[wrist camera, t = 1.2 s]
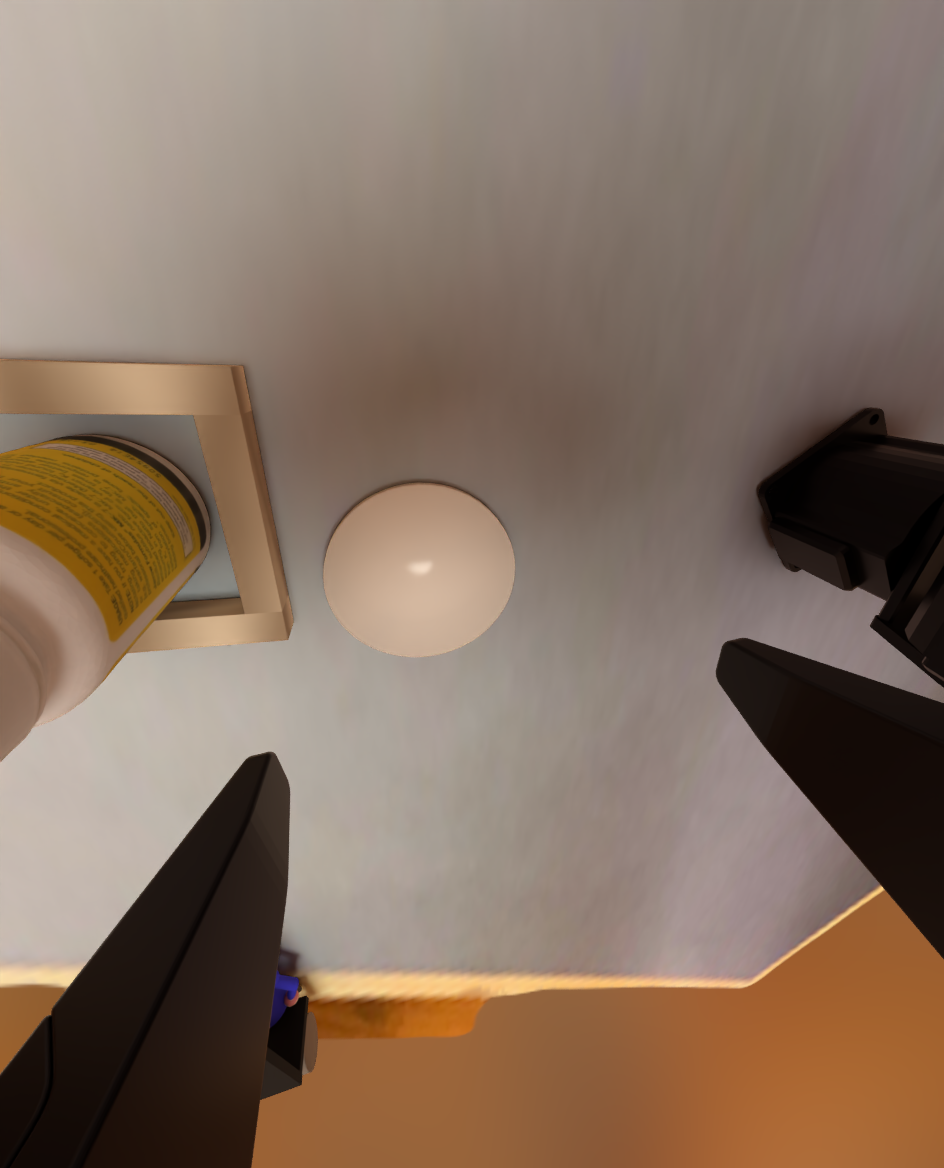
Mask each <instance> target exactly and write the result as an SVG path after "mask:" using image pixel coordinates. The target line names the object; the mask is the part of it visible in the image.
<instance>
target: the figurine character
mask: <svg viewBox="0 0 944 1168" xmlns="http://www.w3.org/2000/svg"><path fill="white" fill-rule="evenodd" d="M301 990H302V987H301V986H300V985H299V980H298V978H297V977H290V976H285V975H279V972H278V971H277V974H276V982H275V989H274V997H273V1005H272V1012H271V1020H270V1028H269V1035H268V1043H267V1051H266V1058H265V1066H264V1073H263V1081H262V1089H261V1096H260V1100H262V1099H264V1098H267V1097H270V1096H273V1095H275V1094H278V1093H281V1092H283V1091H286V1090H289V1089H292V1088H294V1087H297V1086H300V1085H301V1084H302V1075H304V1074H307V1073H309V1072H312V1070H313V1069H314V1066H315V1062H316V1057H317V1043H318V1037H317V1025H316V1020H315V1016H314V1014H313V1013H312V1012H310V1013H307V1011H308V1000H309V998H308V997H307V996H304V997H301V998H299V992H300V991H301Z"/></svg>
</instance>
